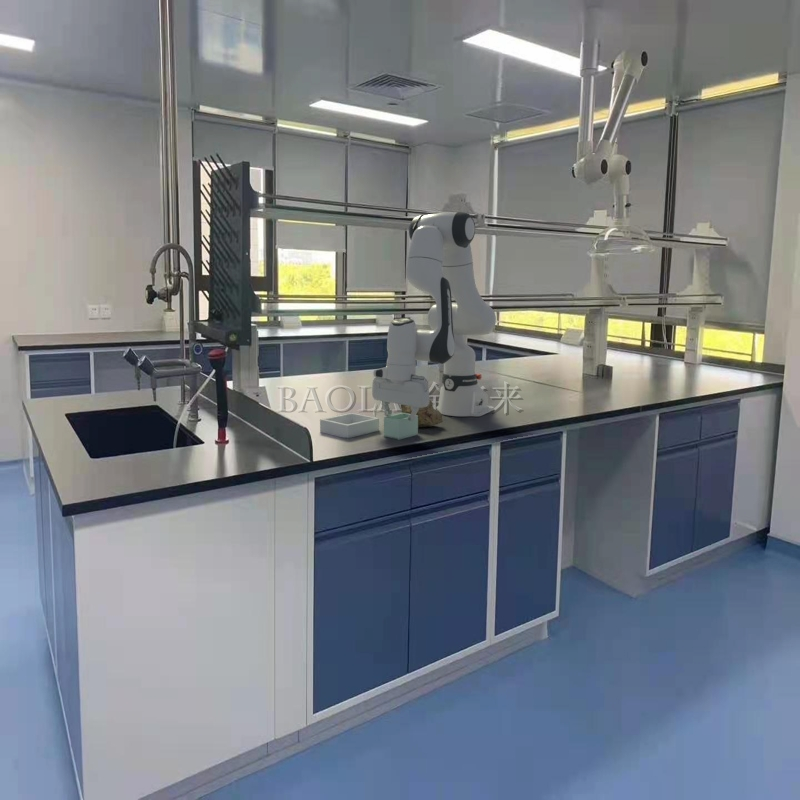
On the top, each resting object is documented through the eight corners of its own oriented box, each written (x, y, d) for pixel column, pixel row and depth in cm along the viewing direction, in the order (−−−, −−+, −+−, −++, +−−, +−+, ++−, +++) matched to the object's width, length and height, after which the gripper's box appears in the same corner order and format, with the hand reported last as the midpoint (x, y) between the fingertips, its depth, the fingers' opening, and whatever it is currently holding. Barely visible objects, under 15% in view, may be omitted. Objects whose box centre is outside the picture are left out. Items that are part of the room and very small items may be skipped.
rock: (409, 412, 208) (431, 393, 211) (388, 409, 218) (409, 390, 222) (425, 439, 212) (446, 420, 216) (404, 434, 222) (424, 416, 226)
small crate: (402, 431, 209) (403, 412, 208) (417, 434, 205) (418, 415, 204) (383, 436, 202) (384, 417, 201) (398, 439, 198) (399, 420, 197)
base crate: (351, 424, 217) (351, 412, 216) (379, 430, 209) (379, 418, 208) (320, 432, 206) (320, 419, 206) (347, 438, 199) (347, 425, 198)
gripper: (434, 376, 195) (433, 422, 198) (383, 368, 208) (382, 412, 211) (421, 377, 191) (419, 425, 193) (369, 370, 204) (368, 414, 206)
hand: (399, 418), depth 202 cm, fingers open, 8 cm apart
